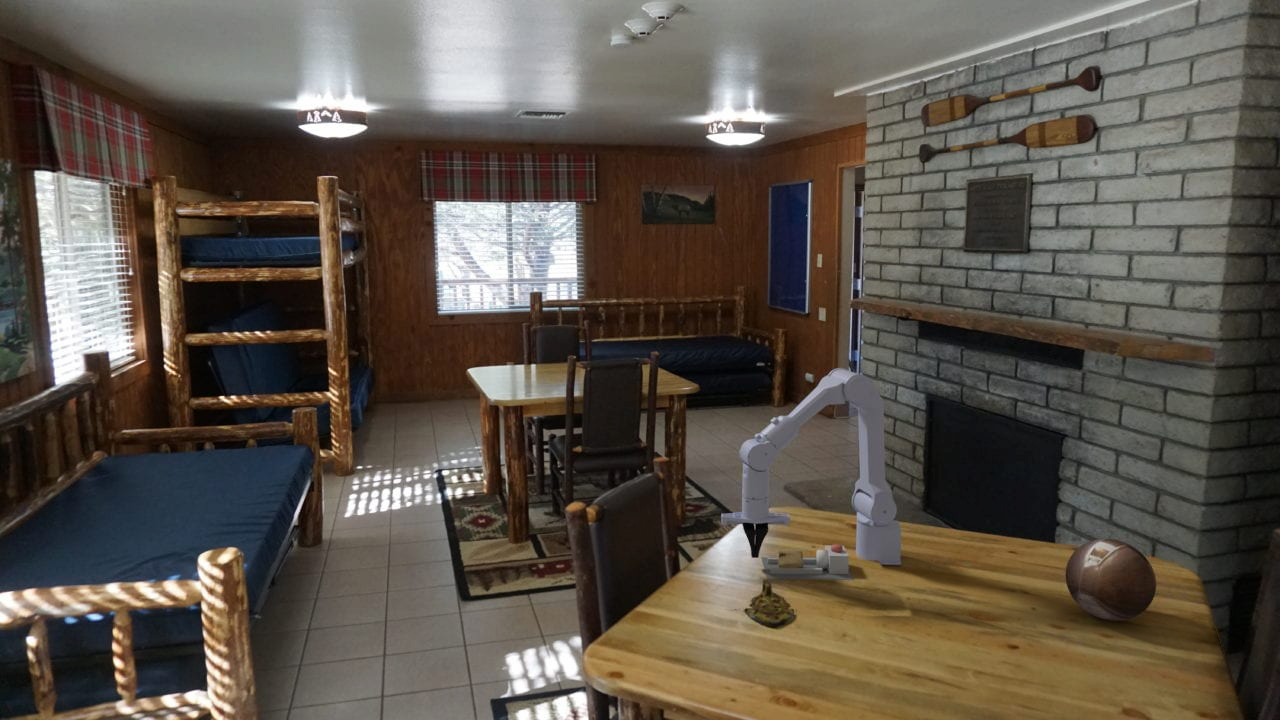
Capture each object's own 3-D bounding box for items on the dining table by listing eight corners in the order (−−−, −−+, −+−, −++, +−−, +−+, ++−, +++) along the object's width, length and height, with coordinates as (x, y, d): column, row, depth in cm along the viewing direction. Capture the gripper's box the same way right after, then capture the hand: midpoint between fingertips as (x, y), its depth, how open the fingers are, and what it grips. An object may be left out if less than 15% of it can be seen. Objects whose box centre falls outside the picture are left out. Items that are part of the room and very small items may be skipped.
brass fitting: (800, 561, 186) (801, 547, 184) (802, 573, 182) (803, 559, 180) (777, 561, 186) (778, 546, 184) (779, 573, 182) (780, 559, 180)
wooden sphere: (1051, 617, 162) (1056, 542, 159) (1078, 593, 172) (1083, 522, 170) (1139, 643, 151) (1146, 563, 149) (1162, 616, 162) (1169, 540, 159)
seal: (799, 634, 159) (786, 599, 173) (802, 611, 158) (788, 577, 173) (749, 629, 159) (740, 595, 173) (752, 606, 158) (743, 573, 173)
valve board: (842, 562, 189) (843, 536, 188) (853, 584, 178) (854, 556, 177) (761, 561, 190) (761, 535, 189) (767, 583, 178) (767, 556, 177)
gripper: (787, 490, 185) (786, 549, 187) (720, 489, 186) (720, 548, 188) (791, 500, 178) (790, 561, 180) (722, 499, 179) (721, 561, 181)
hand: (754, 556), depth 184 cm, fingers closed
